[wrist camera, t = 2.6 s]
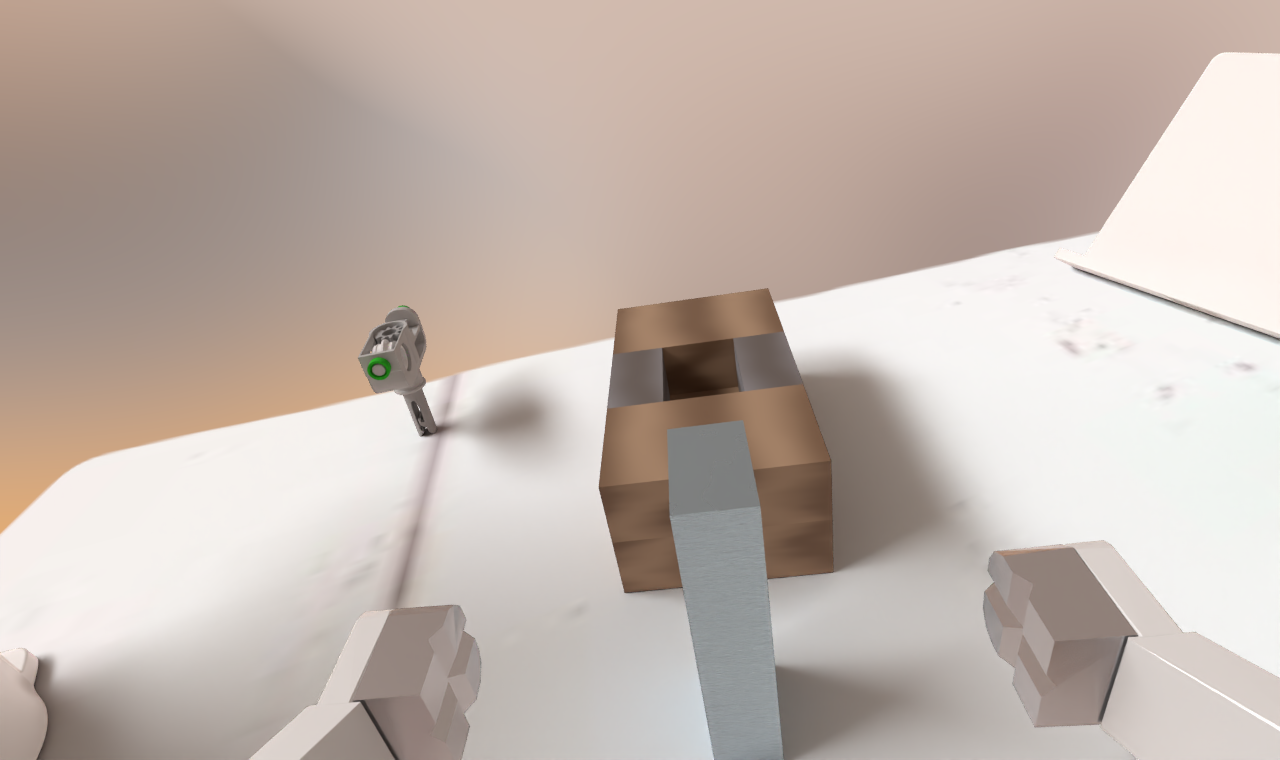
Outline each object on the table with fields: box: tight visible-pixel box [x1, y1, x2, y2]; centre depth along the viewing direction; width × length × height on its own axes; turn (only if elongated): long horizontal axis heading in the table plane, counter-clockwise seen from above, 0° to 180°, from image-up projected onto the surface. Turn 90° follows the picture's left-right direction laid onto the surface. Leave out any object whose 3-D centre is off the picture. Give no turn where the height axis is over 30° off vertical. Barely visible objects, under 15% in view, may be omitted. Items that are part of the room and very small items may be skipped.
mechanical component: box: [358, 306, 437, 436], centre depth 56 cm, size 3×10×10 cm, turn 7°
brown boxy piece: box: [599, 288, 833, 593], centre depth 46 cm, size 12×22×8 cm, turn 179°
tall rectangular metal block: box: [667, 420, 784, 760], centre depth 28 cm, size 3×5×15 cm, turn 179°
